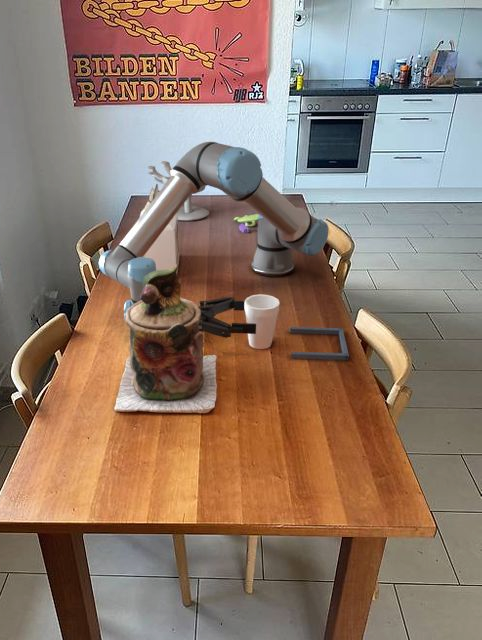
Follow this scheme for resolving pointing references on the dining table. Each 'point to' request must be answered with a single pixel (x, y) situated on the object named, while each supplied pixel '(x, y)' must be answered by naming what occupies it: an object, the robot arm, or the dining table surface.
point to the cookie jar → (166, 352)
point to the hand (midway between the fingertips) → (256, 317)
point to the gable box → (164, 242)
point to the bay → (321, 356)
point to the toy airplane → (247, 222)
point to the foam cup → (261, 319)
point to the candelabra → (187, 210)
